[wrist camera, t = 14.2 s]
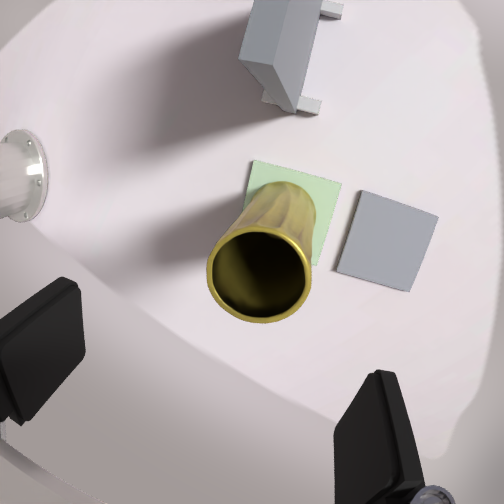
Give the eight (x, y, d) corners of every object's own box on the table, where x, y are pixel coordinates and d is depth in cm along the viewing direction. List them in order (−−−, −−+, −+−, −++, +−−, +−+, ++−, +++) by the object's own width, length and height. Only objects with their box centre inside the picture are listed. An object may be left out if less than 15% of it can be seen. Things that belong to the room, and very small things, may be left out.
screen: (262, 106, 26) (187, 53, 9) (290, -6, 22) (260, -135, 5) (317, 119, 26) (329, 78, 9) (343, 6, 21) (368, -121, 5)
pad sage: (236, 241, 31) (235, 243, 30) (254, 160, 28) (253, 160, 27) (316, 264, 30) (316, 265, 30) (341, 183, 27) (341, 184, 27)
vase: (236, 220, 30) (176, 286, 16) (274, 166, 27) (240, 189, 14) (289, 259, 30) (271, 351, 17) (329, 208, 28) (347, 268, 14)
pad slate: (336, 269, 30) (336, 271, 29) (361, 190, 27) (362, 190, 27) (408, 290, 29) (409, 292, 29) (436, 216, 26) (438, 217, 26)
